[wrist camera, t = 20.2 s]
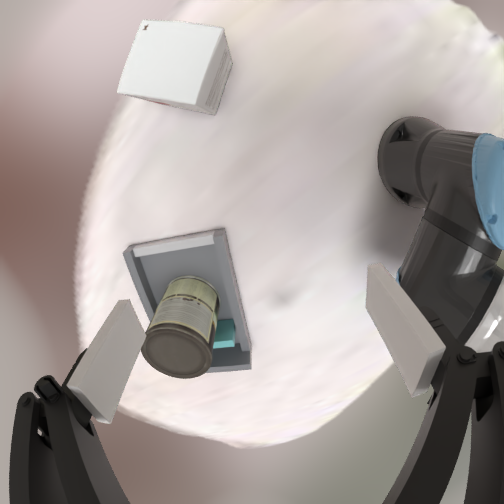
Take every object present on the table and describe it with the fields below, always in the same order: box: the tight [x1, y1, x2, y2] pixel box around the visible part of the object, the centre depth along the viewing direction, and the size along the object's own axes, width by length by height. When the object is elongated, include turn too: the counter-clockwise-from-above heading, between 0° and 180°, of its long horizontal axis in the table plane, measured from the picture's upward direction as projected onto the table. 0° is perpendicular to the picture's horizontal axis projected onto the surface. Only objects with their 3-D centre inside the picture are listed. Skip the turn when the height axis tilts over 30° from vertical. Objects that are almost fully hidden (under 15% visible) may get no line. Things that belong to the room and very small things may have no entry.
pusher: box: [213, 319, 236, 348], centre depth 47 cm, size 2×13×6 cm, turn 100°
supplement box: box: [117, 20, 233, 115], centre depth 27 cm, size 9×9×15 cm
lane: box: [123, 228, 251, 373], centre depth 45 cm, size 25×17×7 cm
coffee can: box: [141, 275, 220, 379], centre depth 41 cm, size 10×10×14 cm
